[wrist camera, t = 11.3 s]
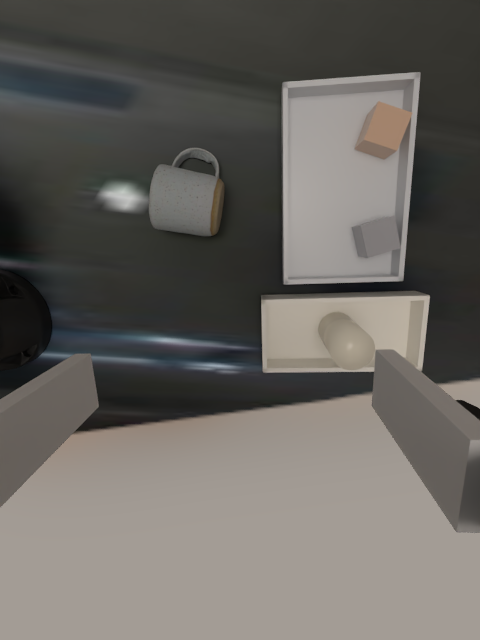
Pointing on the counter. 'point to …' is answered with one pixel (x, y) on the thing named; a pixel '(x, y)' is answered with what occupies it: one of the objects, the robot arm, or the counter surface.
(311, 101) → the tray
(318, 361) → the bin
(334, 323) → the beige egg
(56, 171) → the counter surface
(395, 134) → the orange cube
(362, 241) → the gray cube
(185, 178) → the ceramic mug
